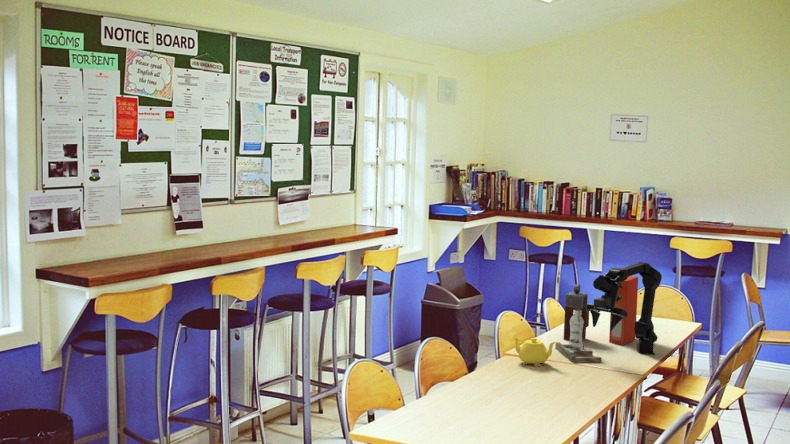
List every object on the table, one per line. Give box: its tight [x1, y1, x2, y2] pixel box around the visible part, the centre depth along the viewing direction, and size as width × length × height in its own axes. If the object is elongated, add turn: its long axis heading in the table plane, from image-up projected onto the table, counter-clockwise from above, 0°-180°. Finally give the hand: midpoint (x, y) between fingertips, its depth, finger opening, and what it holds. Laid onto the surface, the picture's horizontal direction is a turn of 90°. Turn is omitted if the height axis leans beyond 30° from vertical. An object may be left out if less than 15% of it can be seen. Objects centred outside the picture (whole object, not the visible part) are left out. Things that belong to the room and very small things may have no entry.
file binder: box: [608, 275, 639, 346], centre depth 393 cm, size 8×17×32 cm, turn 146°
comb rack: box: [554, 341, 602, 363], centre depth 362 cm, size 14×24×4 cm, turn 5°
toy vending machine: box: [563, 283, 590, 342], centre depth 393 cm, size 9×11×28 cm
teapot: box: [512, 335, 557, 367], centre depth 346 cm, size 20×15×12 cm
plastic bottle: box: [568, 310, 584, 351], centre depth 368 cm, size 6×7×20 cm
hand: (602, 328), depth 351 cm, fingers open, 9 cm apart
